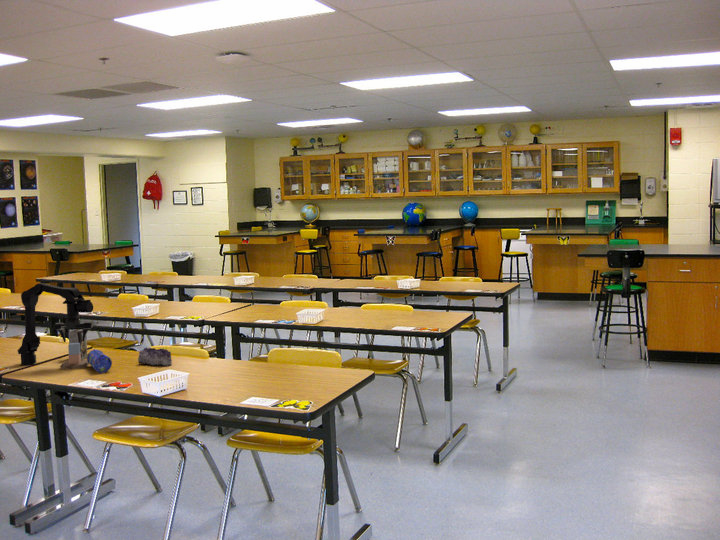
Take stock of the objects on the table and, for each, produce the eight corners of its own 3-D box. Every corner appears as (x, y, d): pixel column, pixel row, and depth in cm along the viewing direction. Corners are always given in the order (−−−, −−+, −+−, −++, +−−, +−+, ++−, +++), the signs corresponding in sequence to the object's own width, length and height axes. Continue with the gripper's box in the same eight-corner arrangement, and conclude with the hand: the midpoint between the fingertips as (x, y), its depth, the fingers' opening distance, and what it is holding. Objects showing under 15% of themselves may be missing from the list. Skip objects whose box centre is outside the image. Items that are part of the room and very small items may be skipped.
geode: (179, 363, 365) (178, 345, 363) (165, 370, 355) (163, 352, 352) (149, 358, 373) (147, 341, 371) (134, 366, 363) (132, 348, 360)
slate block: (68, 354, 354) (68, 345, 354) (69, 352, 359) (69, 343, 358) (79, 354, 355) (78, 344, 355) (80, 352, 360) (79, 342, 360)
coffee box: (80, 361, 371) (79, 331, 370) (69, 361, 371) (67, 331, 370) (88, 357, 380) (86, 328, 379) (76, 357, 380) (75, 328, 379)
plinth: (60, 369, 352) (60, 365, 351) (65, 364, 363) (65, 360, 363) (85, 368, 354) (84, 364, 354) (89, 363, 366) (89, 359, 365)
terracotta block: (68, 363, 355) (68, 354, 355) (70, 361, 360) (70, 352, 360) (79, 363, 356) (78, 353, 356) (81, 361, 361) (80, 352, 361)
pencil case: (112, 372, 344) (112, 353, 344) (94, 374, 340) (94, 355, 339) (103, 364, 363) (102, 346, 362) (86, 366, 359) (85, 348, 358)
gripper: (49, 315, 347) (51, 345, 348) (88, 313, 350) (90, 344, 351) (55, 312, 357) (56, 341, 359) (92, 310, 361) (94, 340, 362)
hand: (74, 341), depth 357 cm, fingers open, 9 cm apart
